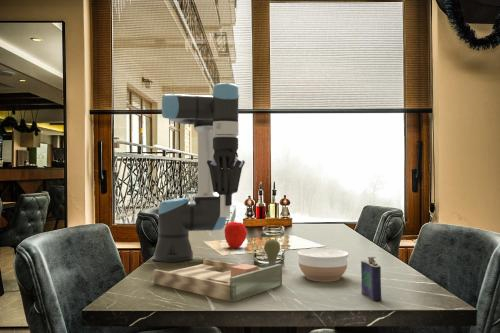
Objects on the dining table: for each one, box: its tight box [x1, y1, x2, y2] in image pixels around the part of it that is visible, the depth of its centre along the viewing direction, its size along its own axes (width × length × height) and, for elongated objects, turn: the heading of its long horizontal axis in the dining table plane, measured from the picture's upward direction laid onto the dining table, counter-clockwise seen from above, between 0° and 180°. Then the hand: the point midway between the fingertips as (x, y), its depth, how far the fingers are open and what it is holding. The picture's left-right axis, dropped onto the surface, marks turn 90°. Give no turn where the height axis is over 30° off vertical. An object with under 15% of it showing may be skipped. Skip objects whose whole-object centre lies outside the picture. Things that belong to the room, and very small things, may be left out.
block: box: [231, 263, 259, 277], centre depth 121 cm, size 6×6×4 cm
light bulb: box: [263, 238, 281, 267], centre depth 151 cm, size 6×6×10 cm
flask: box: [360, 256, 383, 303], centre depth 114 cm, size 9×3×11 cm, turn 8°
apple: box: [224, 221, 248, 249], centre depth 193 cm, size 10×10×12 cm
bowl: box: [297, 247, 350, 283], centre depth 136 cm, size 16×16×8 cm
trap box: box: [153, 258, 283, 303], centre depth 127 cm, size 31×22×6 cm
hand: (225, 216), depth 127 cm, fingers closed
